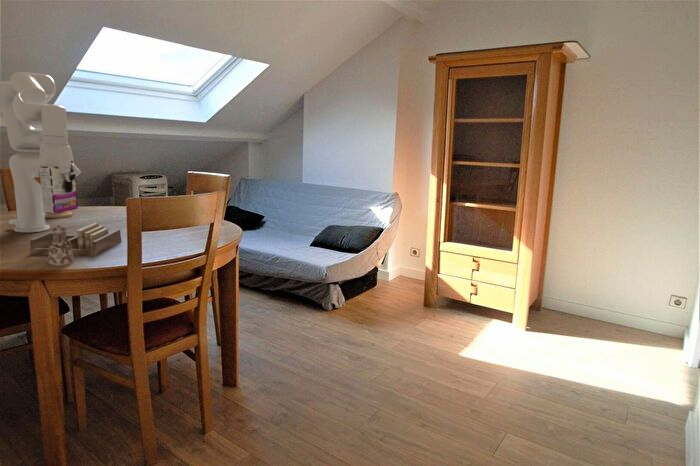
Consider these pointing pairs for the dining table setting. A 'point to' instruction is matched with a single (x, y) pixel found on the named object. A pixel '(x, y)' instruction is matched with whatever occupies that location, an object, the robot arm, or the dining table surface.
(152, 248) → the dining table surface
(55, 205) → the candy bar box
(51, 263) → the figurine
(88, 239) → the offcuts
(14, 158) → the robot arm
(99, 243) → the rack
